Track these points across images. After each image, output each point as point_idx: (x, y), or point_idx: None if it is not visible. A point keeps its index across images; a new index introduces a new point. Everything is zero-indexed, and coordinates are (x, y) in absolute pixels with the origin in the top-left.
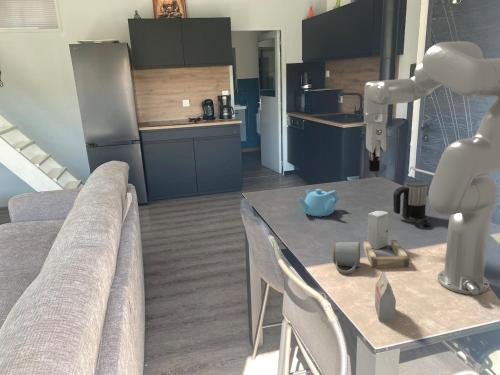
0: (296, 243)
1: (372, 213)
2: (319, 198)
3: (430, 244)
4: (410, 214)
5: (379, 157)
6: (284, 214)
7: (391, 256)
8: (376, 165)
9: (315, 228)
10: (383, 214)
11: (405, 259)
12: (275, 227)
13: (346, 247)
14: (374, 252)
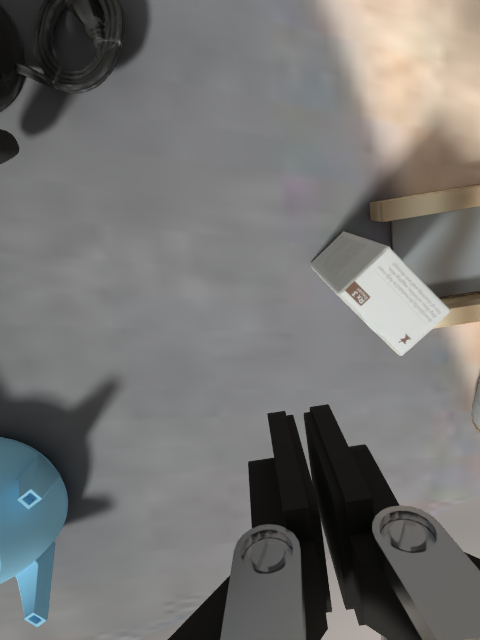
0: None
1: (405, 335)
2: (9, 544)
3: (327, 40)
4: (3, 73)
5: (462, 554)
6: (60, 597)
7: (454, 228)
8: (380, 483)
9: (193, 486)
10: (418, 278)
11: None
12: (200, 604)
13: None
14: None
